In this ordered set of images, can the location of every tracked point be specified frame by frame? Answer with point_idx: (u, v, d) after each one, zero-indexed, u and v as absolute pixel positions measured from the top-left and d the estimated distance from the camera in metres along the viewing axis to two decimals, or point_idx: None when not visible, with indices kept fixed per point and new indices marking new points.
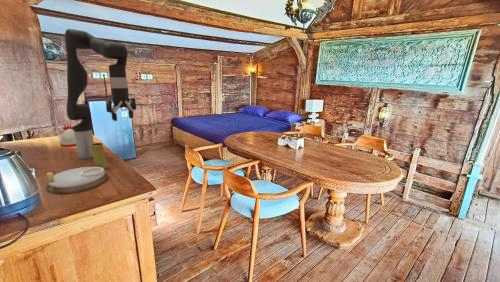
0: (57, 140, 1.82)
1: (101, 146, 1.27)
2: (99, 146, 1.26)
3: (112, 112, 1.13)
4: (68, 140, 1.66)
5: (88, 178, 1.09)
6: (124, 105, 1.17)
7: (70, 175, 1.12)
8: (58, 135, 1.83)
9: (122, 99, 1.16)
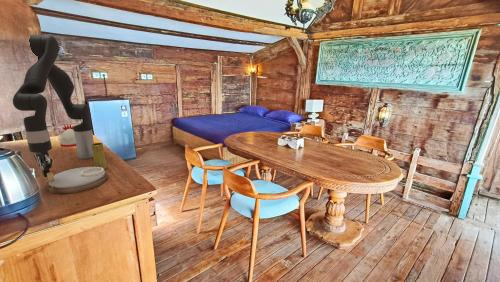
0: (58, 140, 1.82)
1: (101, 146, 1.27)
2: (99, 146, 1.26)
3: (48, 168, 1.06)
4: (68, 140, 1.66)
5: (88, 178, 1.10)
6: None
7: (70, 175, 1.12)
8: (59, 135, 1.83)
9: None
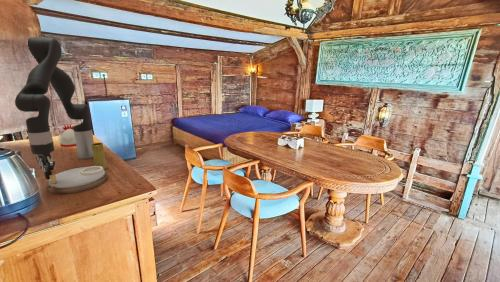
0: (58, 140, 1.82)
1: (101, 146, 1.27)
2: (99, 146, 1.26)
3: (50, 171, 1.03)
4: (68, 140, 1.66)
5: (93, 176, 1.12)
6: None
7: (69, 176, 1.11)
8: (59, 135, 1.83)
9: None
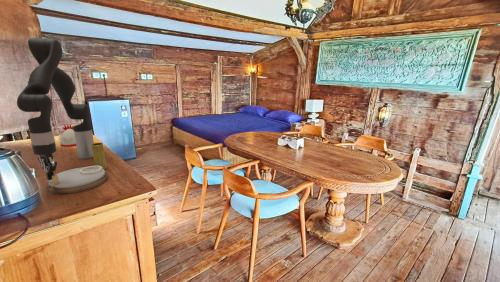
0: (58, 140, 1.82)
1: (101, 146, 1.27)
2: (99, 146, 1.26)
3: (52, 171, 1.03)
4: (68, 140, 1.66)
5: (95, 174, 1.13)
6: None
7: (69, 176, 1.11)
8: (59, 135, 1.83)
9: None
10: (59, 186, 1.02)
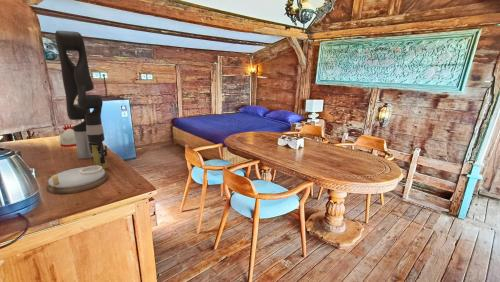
0: (58, 140, 1.82)
1: None
2: None
3: (104, 156, 1.27)
4: (68, 140, 1.66)
5: (95, 174, 1.13)
6: None
7: (69, 176, 1.11)
8: (59, 135, 1.83)
9: None
10: (59, 186, 1.02)
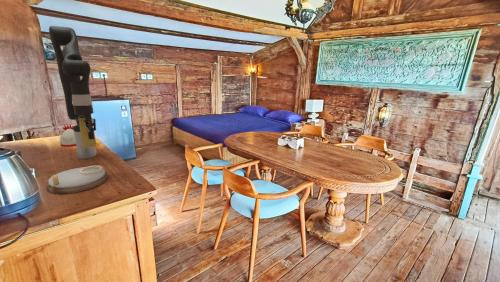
0: (58, 140, 1.82)
1: None
2: None
3: None
4: (68, 140, 1.66)
5: (95, 174, 1.13)
6: None
7: (69, 176, 1.11)
8: (60, 135, 1.83)
9: None
10: (59, 186, 1.02)
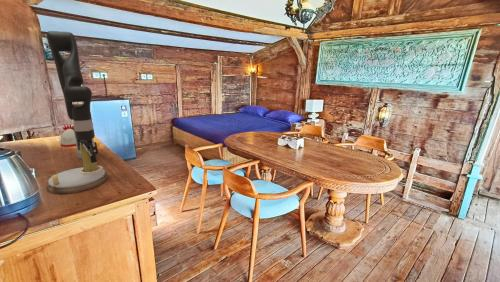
0: (59, 140, 1.82)
1: None
2: None
3: (95, 154, 1.13)
4: (68, 140, 1.66)
5: (95, 175, 1.13)
6: None
7: (69, 176, 1.11)
8: (60, 135, 1.83)
9: None
10: (59, 186, 1.02)
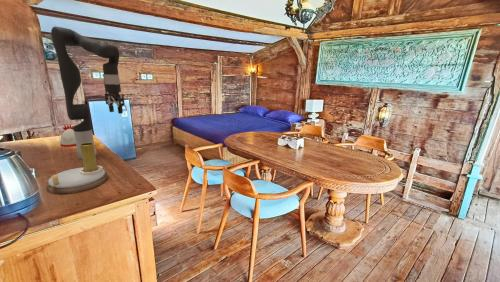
0: (59, 140, 1.82)
1: (91, 146, 1.14)
2: (89, 146, 1.13)
3: (122, 105, 1.29)
4: (68, 140, 1.66)
5: (95, 175, 1.13)
6: None
7: (69, 176, 1.11)
8: (60, 135, 1.83)
9: None
10: (59, 186, 1.02)
